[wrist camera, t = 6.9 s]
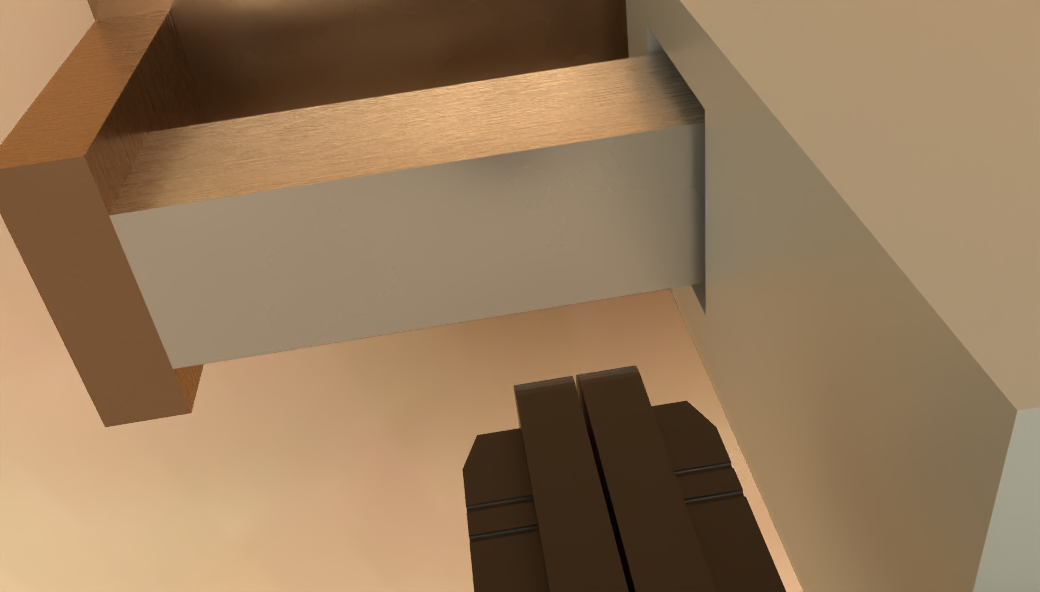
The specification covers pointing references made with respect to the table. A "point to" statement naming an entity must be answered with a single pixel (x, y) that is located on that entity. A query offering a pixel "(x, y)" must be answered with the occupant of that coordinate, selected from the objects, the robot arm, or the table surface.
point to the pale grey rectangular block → (873, 276)
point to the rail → (341, 178)
